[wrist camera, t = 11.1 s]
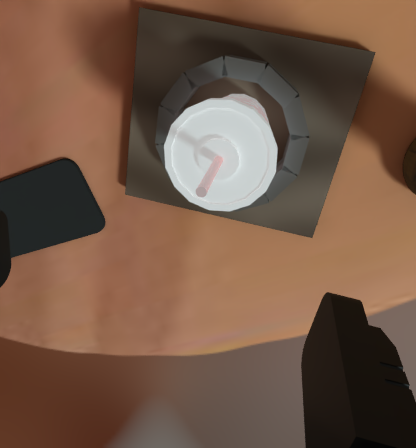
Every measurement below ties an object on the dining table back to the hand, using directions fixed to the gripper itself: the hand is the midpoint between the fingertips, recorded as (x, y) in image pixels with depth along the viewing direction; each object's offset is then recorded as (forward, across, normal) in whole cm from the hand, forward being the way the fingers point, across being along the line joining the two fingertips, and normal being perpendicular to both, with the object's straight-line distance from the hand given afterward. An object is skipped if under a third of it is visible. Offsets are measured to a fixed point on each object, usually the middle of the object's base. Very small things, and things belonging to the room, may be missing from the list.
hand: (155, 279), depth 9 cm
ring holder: (+22, 0, +1) cm, 22 cm away
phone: (+22, +18, +13) cm, 32 cm away
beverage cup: (+21, 0, 0) cm, 21 cm away
